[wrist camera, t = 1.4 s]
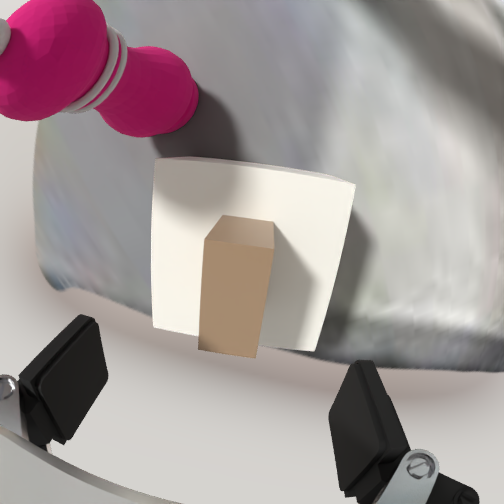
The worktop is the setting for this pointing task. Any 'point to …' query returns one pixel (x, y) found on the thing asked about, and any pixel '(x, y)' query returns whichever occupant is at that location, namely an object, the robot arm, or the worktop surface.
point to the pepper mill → (89, 71)
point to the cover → (245, 252)
